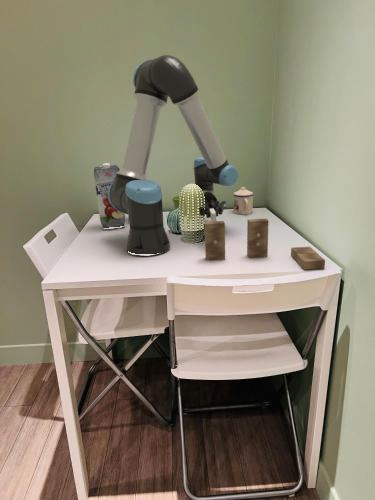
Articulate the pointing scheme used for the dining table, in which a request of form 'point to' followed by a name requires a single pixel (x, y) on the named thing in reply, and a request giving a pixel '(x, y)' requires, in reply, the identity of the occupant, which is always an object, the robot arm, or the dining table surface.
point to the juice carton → (102, 182)
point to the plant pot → (176, 201)
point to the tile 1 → (215, 240)
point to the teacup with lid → (243, 201)
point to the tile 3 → (307, 258)
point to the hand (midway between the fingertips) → (213, 217)
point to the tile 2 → (257, 238)
